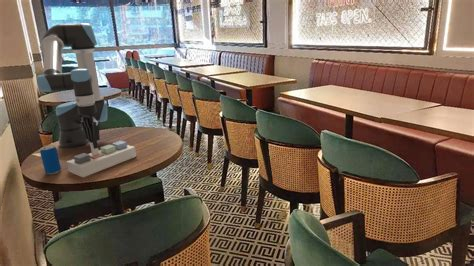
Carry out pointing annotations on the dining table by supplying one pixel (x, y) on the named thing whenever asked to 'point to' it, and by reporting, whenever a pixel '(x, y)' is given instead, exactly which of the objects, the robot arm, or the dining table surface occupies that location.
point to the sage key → (107, 149)
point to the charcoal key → (82, 158)
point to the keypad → (101, 162)
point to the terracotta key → (96, 156)
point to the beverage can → (50, 159)
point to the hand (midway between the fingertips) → (95, 154)
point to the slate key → (120, 145)
